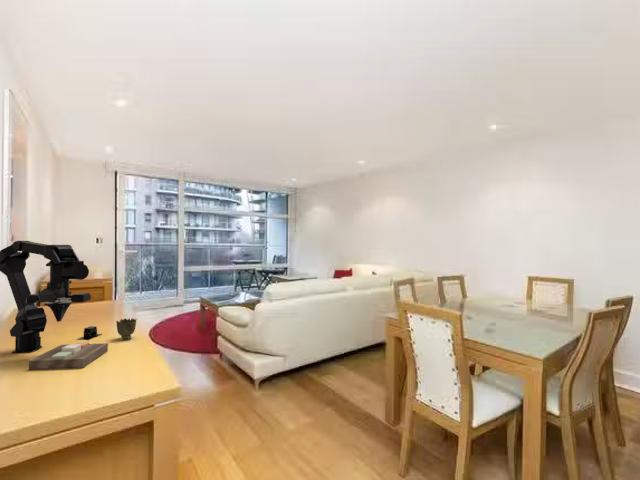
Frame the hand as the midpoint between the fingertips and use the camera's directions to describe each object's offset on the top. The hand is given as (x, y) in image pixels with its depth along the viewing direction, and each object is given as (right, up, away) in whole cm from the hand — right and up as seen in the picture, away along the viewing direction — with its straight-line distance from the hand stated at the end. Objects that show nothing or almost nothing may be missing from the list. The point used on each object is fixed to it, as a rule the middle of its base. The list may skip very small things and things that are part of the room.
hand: (59, 321), depth 123 cm
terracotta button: (+8, -11, 0) cm, 14 cm away
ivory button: (+9, -11, -6) cm, 15 cm away
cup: (+13, -13, +20) cm, 27 cm away
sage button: (+10, -11, -11) cm, 19 cm away
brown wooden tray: (+9, -12, -6) cm, 16 cm away
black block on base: (-4, -13, +23) cm, 26 cm away
